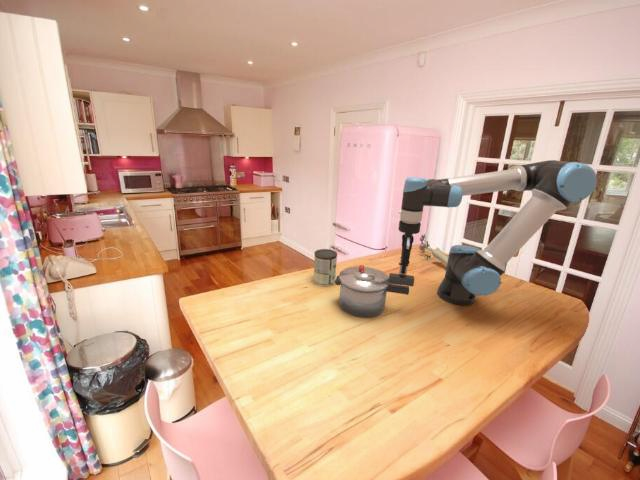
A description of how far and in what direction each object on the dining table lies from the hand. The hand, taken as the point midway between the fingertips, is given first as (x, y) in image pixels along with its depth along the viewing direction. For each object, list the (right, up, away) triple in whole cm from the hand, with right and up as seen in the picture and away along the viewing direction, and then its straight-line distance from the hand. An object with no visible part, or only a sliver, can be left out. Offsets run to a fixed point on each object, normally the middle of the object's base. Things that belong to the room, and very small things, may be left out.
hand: (401, 279), depth 116 cm
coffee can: (-30, -4, +23) cm, 38 cm away
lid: (-10, -1, 0) cm, 10 cm away
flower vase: (+33, +2, +49) cm, 59 cm away
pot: (-12, -11, +4) cm, 17 cm away
